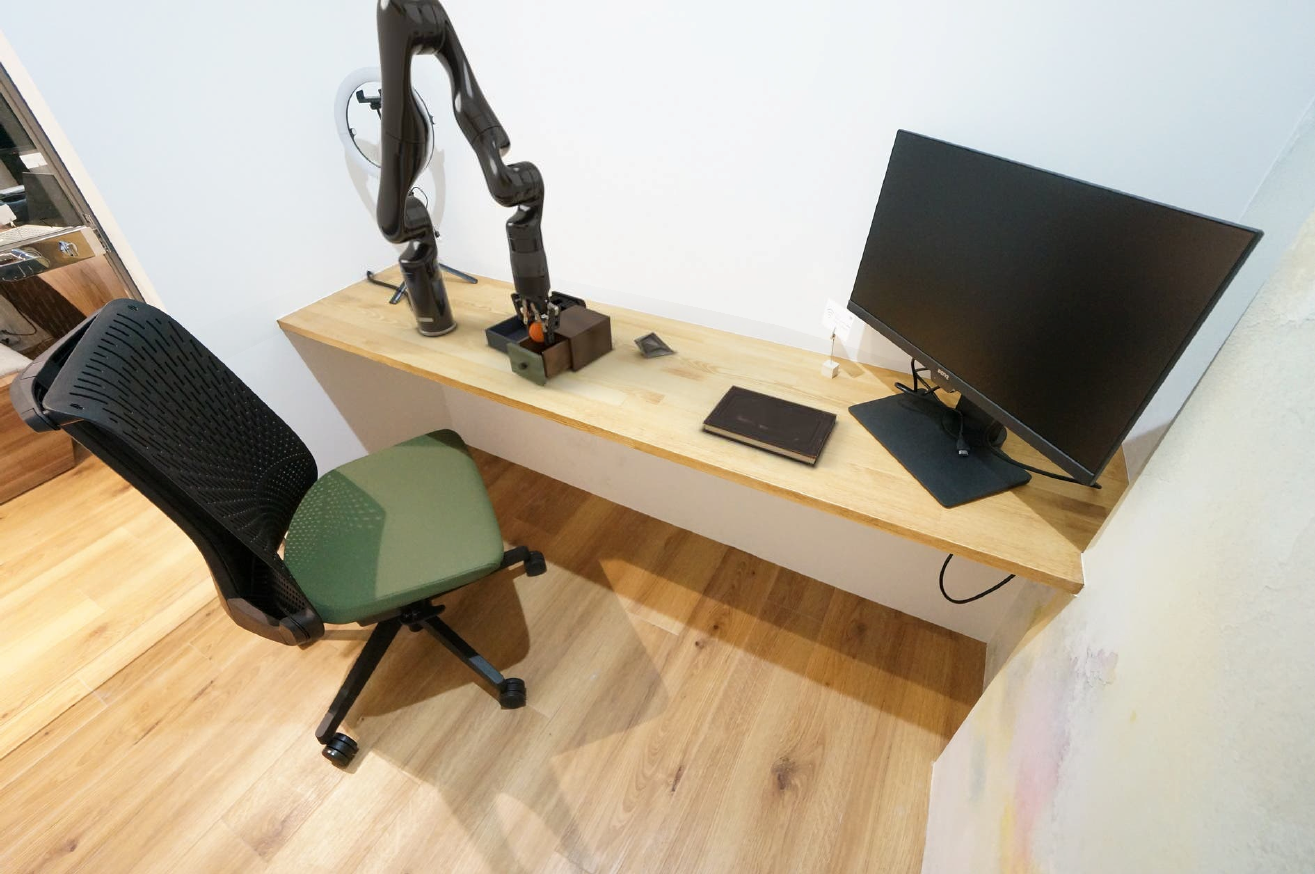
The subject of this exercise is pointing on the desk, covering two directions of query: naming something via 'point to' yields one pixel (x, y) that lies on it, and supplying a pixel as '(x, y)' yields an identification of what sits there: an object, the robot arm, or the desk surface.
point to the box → (506, 333)
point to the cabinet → (585, 335)
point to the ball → (536, 332)
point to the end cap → (565, 300)
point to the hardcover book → (771, 424)
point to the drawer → (539, 358)
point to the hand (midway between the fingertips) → (541, 340)
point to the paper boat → (652, 345)
